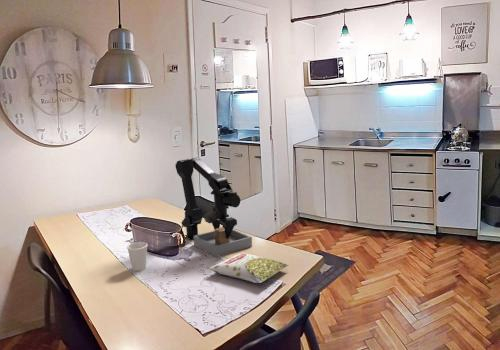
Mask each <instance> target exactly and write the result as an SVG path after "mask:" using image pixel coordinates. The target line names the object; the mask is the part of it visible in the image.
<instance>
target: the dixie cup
mask: <svg viewBox="0 0 500 350" xmlns="http://www.w3.org/2000/svg"><path fill="white" fill-rule="evenodd" d="M126 249H127V252H128V257H129V261H130V264H131V270H132V271H135V272H140V271H144V270H146V269H147V255H148V243H147V242H143V241H138V242H132V243H130V244H128V245H127V246H126Z"/></svg>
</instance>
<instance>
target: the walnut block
mask: <svg viewBox="0 0 500 350" xmlns="http://www.w3.org/2000/svg"><path fill="white" fill-rule="evenodd" d="M213 231H215V243H216V244H218V245H221V244H224V243H228V242H230V238H228V239H226V236H225V229H224V228H223V227H222V226H221V227H220V228H217V229H214V228H213Z"/></svg>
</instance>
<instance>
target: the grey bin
mask: <svg viewBox="0 0 500 350" xmlns="http://www.w3.org/2000/svg"><path fill="white" fill-rule="evenodd" d="M193 238H194V239H193V245H194V246H195V245H196V247H197V248H199V249H201V250H202V249H203V250H202V251H204V252H206V253H208V254H209V253H210V254H209V255H211V254H212V256H213V257H220V256H222V255H226V254H230V253H233V252H237V251H241V250H244V249H248V248H250V247H251V248H252V247H253V239H252V236H250V235H248V234H246V233H243V232H242V231H239V230H236V229H234V228H233V230H232V232H231V234H230V236H229V238H230V242H228V243H224V244H221V245H218V244H216V243H215V230H212V231H207V232H203V233H198V235H195V236H193Z"/></svg>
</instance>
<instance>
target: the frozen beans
mask: <svg viewBox="0 0 500 350" xmlns="http://www.w3.org/2000/svg"><path fill="white" fill-rule="evenodd" d="M287 267H289V264H286V263H284V262H281V261H279V260H275V259H273V258H272V259H271V258H267V257H264V256H263V257H262V256H259V255H254V254H250V253H241V252H240V253H237V254H235V255H233V256H231V257H229V258H228V259H226V260H223V261H221V262H220V263H217V264H215V265H213V266H211V267H208V268H207V269H209V271H212V272H214V273H216V274H220V275H224V276H228V277H231V278H235V279H239V280H243V281H247V282H250V283H254V284H261V283H263V282H265V281H266V280H268V279H270V278H271V277H273V276H275V275H276V274H277V273H279V272H280V271H282V270H283V269H285V268H287Z"/></svg>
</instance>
